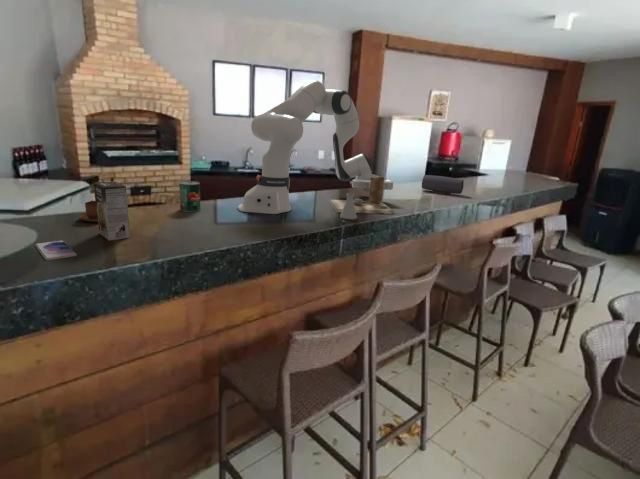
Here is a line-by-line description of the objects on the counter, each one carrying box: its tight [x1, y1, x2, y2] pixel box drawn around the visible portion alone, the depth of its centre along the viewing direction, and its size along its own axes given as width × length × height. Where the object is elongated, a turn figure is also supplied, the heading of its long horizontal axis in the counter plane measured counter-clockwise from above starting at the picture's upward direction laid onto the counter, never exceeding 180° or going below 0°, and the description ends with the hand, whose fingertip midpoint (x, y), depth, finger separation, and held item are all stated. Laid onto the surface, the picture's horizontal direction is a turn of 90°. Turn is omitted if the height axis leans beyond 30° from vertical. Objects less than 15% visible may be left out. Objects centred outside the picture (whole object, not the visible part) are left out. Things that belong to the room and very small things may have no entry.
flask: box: [339, 192, 358, 220], centre depth 161 cm, size 7×7×10 cm
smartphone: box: [34, 240, 78, 261], centre depth 107 cm, size 7×1×15 cm
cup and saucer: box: [78, 200, 98, 223], centre depth 137 cm, size 12×12×6 cm
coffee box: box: [93, 181, 131, 242], centre depth 120 cm, size 9×6×16 cm
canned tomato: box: [178, 180, 201, 213], centre depth 159 cm, size 8×8×11 cm
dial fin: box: [353, 176, 385, 205], centre depth 182 cm, size 16×4×12 cm, turn 122°
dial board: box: [329, 199, 394, 215], centre depth 182 cm, size 25×20×2 cm
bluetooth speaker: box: [421, 174, 465, 195], centre depth 236 cm, size 23×9×10 cm, turn 58°
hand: (376, 187), depth 187 cm, fingers closed
